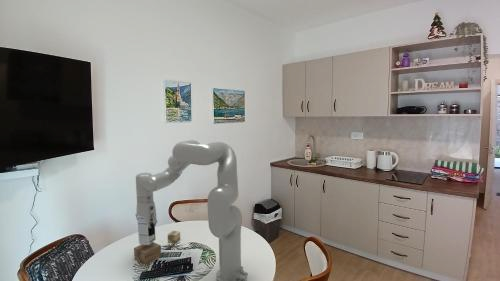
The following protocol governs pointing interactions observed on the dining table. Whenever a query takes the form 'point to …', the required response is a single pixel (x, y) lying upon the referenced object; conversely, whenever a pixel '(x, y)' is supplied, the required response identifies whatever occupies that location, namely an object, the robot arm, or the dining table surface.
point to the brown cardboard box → (147, 253)
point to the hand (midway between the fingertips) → (146, 232)
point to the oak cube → (174, 237)
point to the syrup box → (144, 232)
